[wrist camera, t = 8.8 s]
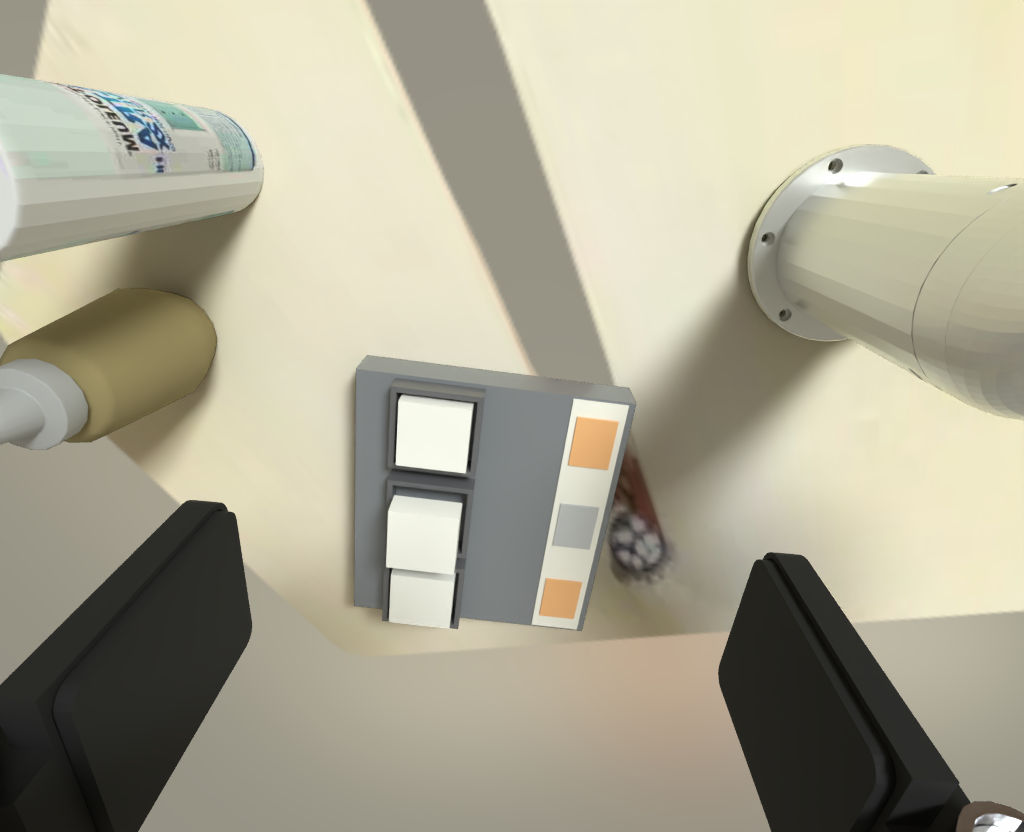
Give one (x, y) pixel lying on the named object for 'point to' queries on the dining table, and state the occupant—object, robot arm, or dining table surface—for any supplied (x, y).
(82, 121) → the spray can
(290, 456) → the dining table surface
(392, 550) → the switch
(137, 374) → the squeeze bottle
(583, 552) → the switch box
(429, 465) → the switch
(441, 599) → the switch
